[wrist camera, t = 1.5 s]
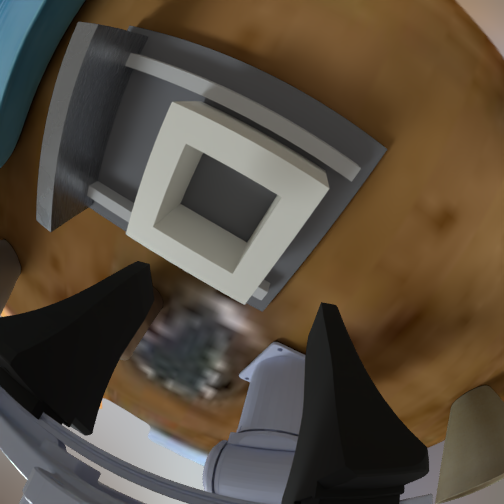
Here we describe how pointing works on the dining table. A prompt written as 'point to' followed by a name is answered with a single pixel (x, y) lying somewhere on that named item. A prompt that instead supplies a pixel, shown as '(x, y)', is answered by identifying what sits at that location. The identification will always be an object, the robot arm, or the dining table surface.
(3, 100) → the casserole dish
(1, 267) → the vase
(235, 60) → the slide board
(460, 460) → the plant pot
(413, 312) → the dining table surface
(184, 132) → the sliding block
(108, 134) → the stop wall
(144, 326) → the dowel
